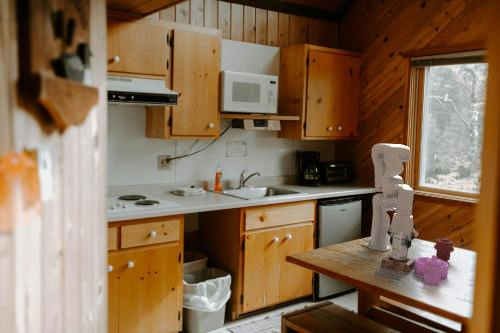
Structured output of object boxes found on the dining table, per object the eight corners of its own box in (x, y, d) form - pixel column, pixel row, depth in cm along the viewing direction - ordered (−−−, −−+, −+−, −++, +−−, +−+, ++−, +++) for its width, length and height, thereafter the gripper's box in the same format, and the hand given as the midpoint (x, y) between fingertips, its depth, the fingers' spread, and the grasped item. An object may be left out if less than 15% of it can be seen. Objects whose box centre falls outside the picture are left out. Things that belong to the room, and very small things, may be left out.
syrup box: (398, 260, 243) (401, 232, 241) (390, 256, 248) (393, 229, 246) (407, 259, 246) (410, 231, 244) (398, 255, 251) (401, 228, 249)
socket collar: (381, 267, 245) (381, 259, 244) (389, 260, 256) (389, 253, 256) (408, 273, 238) (409, 265, 237) (415, 266, 249) (416, 259, 249)
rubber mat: (373, 274, 233) (373, 273, 233) (381, 267, 243) (381, 267, 243) (399, 280, 227) (399, 279, 227) (405, 273, 237) (406, 272, 237)
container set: (413, 267, 248) (416, 242, 246) (446, 272, 243) (448, 246, 242) (414, 283, 224) (417, 255, 223) (449, 289, 219) (452, 260, 218)
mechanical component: (450, 259, 265) (454, 265, 255) (431, 257, 267) (434, 263, 257) (452, 237, 264) (456, 242, 254) (433, 235, 266) (436, 240, 256)
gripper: (384, 210, 245) (380, 244, 248) (419, 216, 236) (415, 251, 238) (388, 208, 251) (385, 241, 254) (423, 214, 242) (419, 248, 245)
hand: (400, 245), depth 246 cm, fingers closed on syrup box, 7 cm apart
